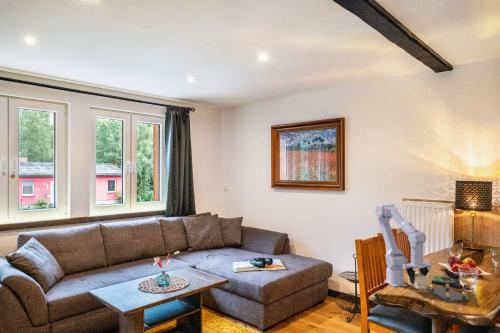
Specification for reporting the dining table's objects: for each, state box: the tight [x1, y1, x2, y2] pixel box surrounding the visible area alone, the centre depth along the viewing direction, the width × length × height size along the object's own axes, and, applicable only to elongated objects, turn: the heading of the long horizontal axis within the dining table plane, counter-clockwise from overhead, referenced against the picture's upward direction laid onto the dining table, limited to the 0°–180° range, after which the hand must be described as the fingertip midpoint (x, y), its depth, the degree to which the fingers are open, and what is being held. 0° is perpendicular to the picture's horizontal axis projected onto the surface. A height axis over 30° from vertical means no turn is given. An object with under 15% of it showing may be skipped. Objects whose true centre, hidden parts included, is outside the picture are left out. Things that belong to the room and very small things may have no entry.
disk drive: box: [431, 275, 463, 290], centre depth 186 cm, size 10×3×15 cm
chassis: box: [425, 283, 472, 303], centre depth 170 cm, size 16×12×4 cm
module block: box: [407, 270, 428, 290], centre depth 173 cm, size 8×5×6 cm, turn 7°
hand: (417, 282), depth 173 cm, fingers closed on module block, 5 cm apart
